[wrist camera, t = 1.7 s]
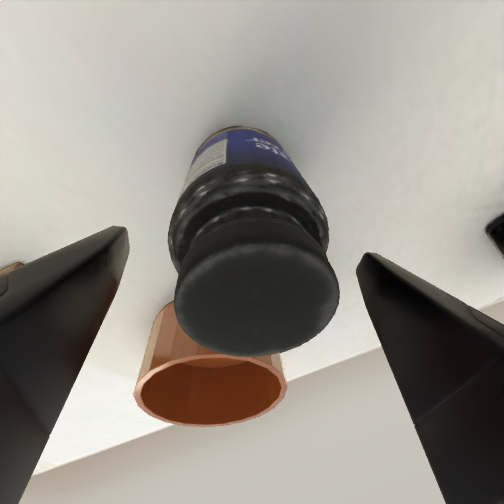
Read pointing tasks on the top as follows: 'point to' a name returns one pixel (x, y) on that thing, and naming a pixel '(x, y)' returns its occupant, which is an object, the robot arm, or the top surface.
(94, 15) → the top surface
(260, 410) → the bowl
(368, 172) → the top surface
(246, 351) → the pill bottle
